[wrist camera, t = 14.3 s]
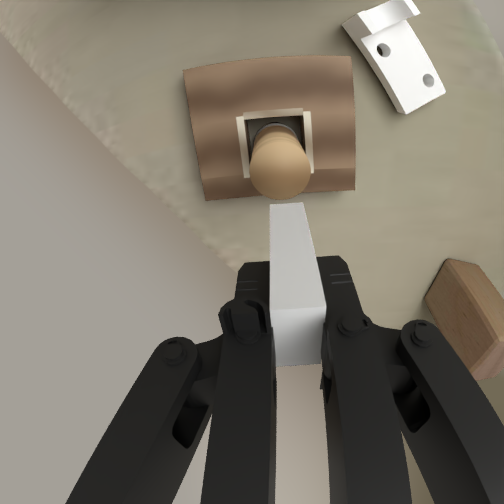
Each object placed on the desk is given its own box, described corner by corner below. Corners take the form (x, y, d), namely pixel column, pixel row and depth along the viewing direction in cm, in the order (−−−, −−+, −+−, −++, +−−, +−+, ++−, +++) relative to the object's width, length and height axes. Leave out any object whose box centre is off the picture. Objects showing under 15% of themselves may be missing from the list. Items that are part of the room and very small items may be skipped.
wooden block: (421, 298, 47) (460, 386, 30) (445, 255, 41) (501, 341, 24) (455, 302, 47) (494, 379, 30) (478, 263, 42) (530, 338, 25)
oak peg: (252, 120, 32) (244, 143, 21) (293, 117, 32) (310, 138, 20) (257, 158, 35) (251, 203, 23) (296, 156, 34) (313, 198, 23)
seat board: (191, 71, 29) (182, 70, 25) (342, 58, 27) (351, 56, 23) (211, 188, 38) (205, 201, 34) (346, 179, 36) (355, 190, 32)
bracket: (339, 26, 25) (357, 13, 18) (381, 6, 22) (406, -7, 16) (394, 110, 30) (421, 120, 24) (432, 89, 27) (464, 95, 21)
